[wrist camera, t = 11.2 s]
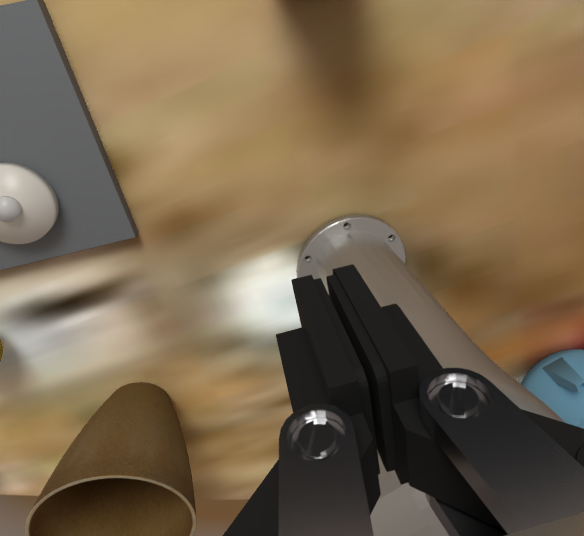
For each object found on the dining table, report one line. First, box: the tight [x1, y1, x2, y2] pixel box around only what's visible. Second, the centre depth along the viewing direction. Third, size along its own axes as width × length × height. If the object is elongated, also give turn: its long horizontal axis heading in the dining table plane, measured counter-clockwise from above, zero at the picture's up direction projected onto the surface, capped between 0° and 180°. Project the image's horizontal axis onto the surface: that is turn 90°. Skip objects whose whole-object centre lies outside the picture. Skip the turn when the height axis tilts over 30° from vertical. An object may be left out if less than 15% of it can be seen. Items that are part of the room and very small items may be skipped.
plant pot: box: [25, 382, 196, 536], centre depth 46 cm, size 15×15×16 cm
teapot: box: [521, 349, 584, 428], centre depth 60 cm, size 15×15×11 cm
